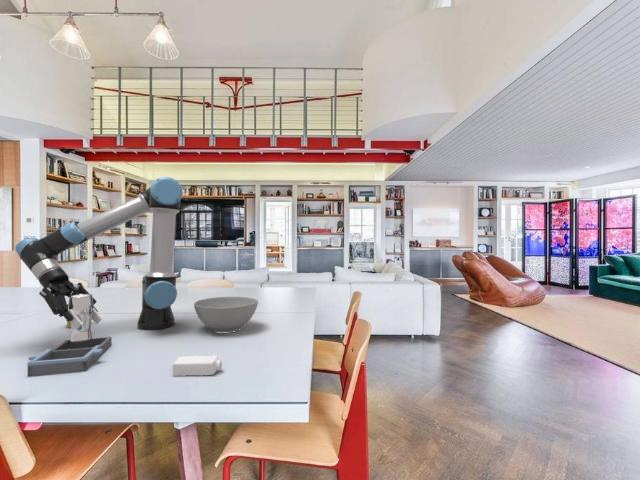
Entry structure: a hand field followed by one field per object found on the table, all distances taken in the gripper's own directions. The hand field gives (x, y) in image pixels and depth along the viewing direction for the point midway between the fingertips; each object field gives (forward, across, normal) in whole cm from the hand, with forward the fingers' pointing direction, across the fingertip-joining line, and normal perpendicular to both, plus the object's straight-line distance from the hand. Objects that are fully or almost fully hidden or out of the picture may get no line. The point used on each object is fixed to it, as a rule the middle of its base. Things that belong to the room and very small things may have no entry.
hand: (89, 323), depth 111 cm
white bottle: (+39, +5, +23) cm, 46 cm away
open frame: (+7, +5, -7) cm, 11 cm away
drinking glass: (+1, 0, -6) cm, 7 cm away
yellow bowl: (-18, -27, -33) cm, 47 cm away
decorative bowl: (+29, -39, +13) cm, 50 cm away
